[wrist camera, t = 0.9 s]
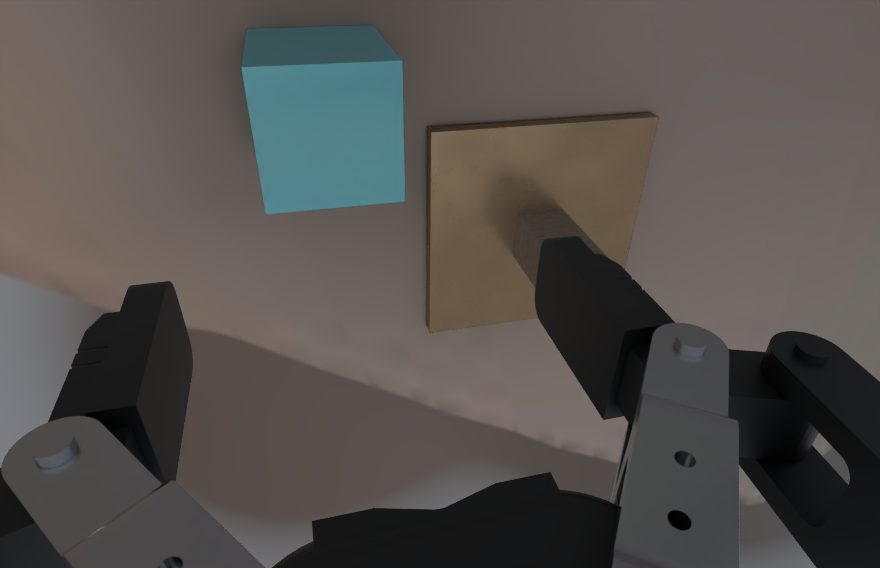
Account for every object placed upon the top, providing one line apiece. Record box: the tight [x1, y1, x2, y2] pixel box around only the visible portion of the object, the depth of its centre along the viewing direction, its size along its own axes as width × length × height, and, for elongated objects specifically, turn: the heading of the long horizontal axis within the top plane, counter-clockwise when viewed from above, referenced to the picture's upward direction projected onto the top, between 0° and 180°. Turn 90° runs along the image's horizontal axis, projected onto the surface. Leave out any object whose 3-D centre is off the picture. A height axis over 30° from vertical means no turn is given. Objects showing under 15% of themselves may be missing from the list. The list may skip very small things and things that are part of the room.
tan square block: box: [427, 112, 659, 333], centre depth 30 cm, size 12×12×7 cm
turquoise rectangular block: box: [241, 25, 405, 214], centre depth 23 cm, size 5×5×7 cm
